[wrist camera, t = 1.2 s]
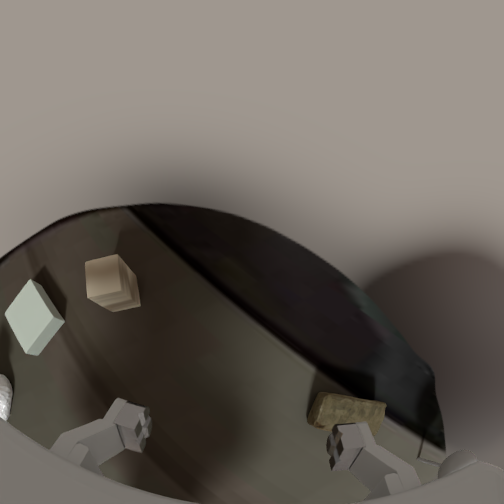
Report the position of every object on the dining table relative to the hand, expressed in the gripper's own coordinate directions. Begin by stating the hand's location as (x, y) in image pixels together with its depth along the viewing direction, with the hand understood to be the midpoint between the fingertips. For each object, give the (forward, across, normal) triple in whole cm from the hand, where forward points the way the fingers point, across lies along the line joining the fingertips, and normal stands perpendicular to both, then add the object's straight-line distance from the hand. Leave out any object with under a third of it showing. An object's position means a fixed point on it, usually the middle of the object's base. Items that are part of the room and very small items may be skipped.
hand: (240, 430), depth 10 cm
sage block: (+23, -36, -13) cm, 45 cm away
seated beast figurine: (+13, -44, -26) cm, 53 cm away
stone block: (+22, +16, -21) cm, 34 cm away
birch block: (+28, -20, -7) cm, 35 cm away
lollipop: (+16, +34, -32) cm, 49 cm away
